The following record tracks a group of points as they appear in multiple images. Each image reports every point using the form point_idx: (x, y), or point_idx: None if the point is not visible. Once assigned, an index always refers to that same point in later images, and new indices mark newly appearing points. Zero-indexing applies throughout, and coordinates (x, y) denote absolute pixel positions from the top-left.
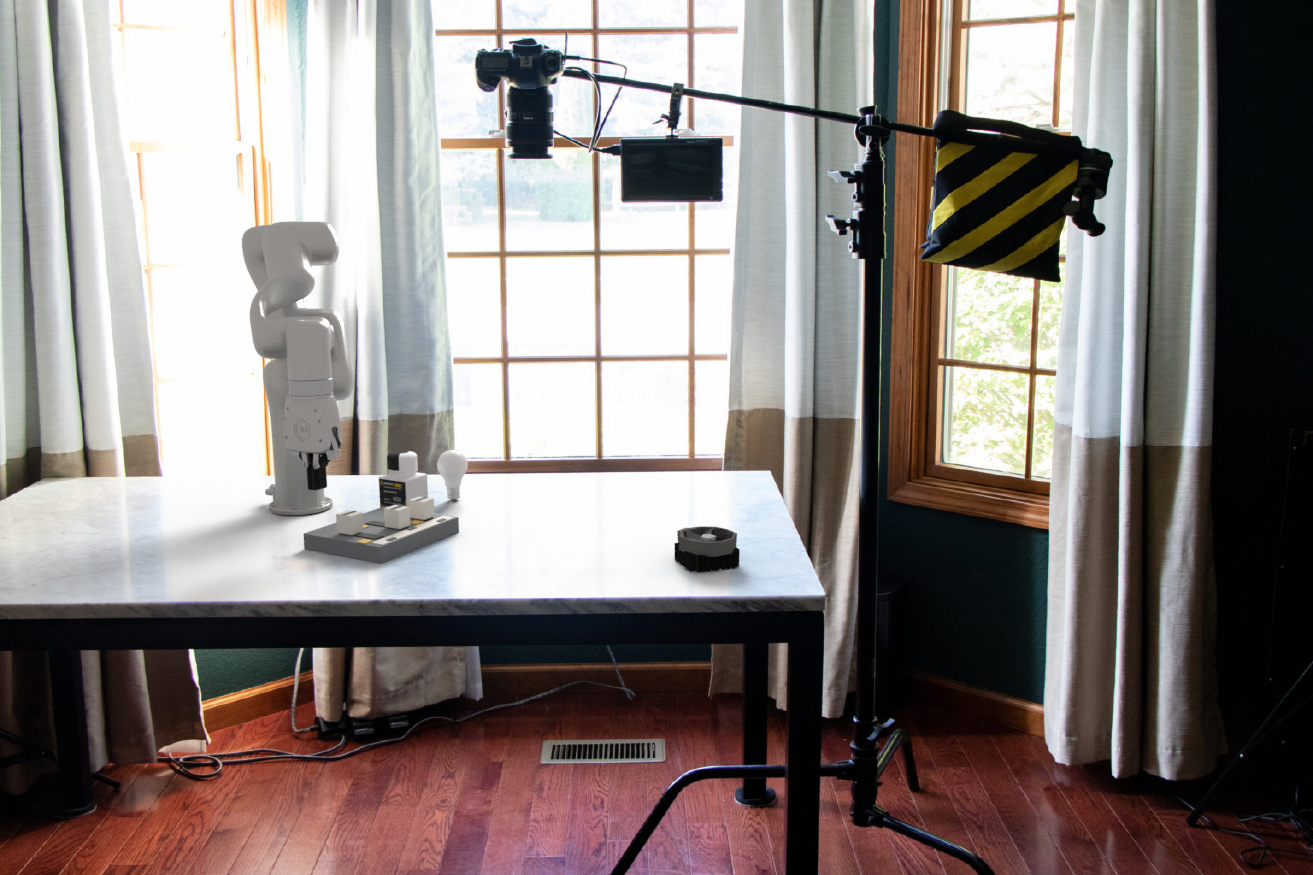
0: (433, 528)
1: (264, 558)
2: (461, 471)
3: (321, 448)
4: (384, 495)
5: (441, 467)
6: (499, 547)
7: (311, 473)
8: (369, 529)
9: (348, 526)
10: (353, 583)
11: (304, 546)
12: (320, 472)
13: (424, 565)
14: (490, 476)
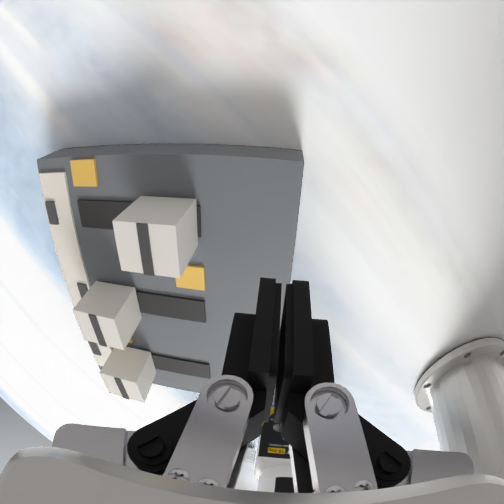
0: None
1: (349, 43)
2: None
3: (17, 472)
4: None
5: (243, 488)
6: (22, 299)
7: (268, 346)
8: None
9: (140, 206)
10: (32, 36)
11: (302, 152)
12: (223, 369)
13: (13, 183)
14: None
